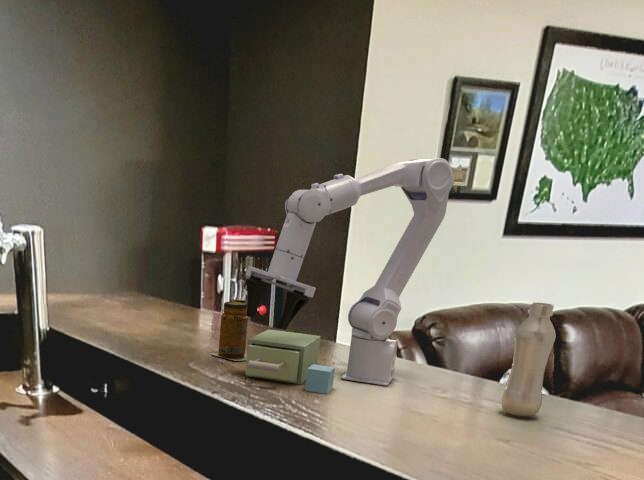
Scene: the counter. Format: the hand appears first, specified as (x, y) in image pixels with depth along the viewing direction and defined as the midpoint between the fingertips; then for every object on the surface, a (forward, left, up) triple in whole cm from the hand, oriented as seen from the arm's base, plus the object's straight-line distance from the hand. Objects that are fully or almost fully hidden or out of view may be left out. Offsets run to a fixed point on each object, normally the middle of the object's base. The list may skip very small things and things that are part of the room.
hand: (265, 322), depth 141 cm
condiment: (+12, -17, -12) cm, 24 cm away
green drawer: (-2, -3, -11) cm, 11 cm away
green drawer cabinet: (-2, -8, -12) cm, 14 cm away
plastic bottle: (-48, -3, -12) cm, 50 cm away
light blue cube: (-12, +1, -12) cm, 17 cm away
